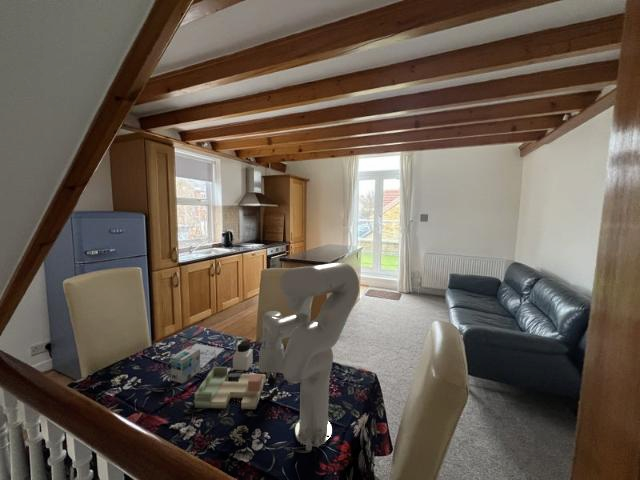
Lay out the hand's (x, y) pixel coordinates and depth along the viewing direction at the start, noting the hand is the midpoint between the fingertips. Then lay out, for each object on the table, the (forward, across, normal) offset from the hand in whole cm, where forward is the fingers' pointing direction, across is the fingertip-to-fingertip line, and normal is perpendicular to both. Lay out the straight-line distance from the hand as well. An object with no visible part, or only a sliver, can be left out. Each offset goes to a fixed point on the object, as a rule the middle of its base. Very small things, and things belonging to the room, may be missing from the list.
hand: (271, 385), depth 109 cm
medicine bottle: (+4, -17, +19) cm, 26 cm away
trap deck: (+4, -16, 0) cm, 16 cm away
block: (+1, -7, 0) cm, 7 cm away
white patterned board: (+4, -42, +27) cm, 51 cm away
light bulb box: (+4, -40, +10) cm, 42 cm away
